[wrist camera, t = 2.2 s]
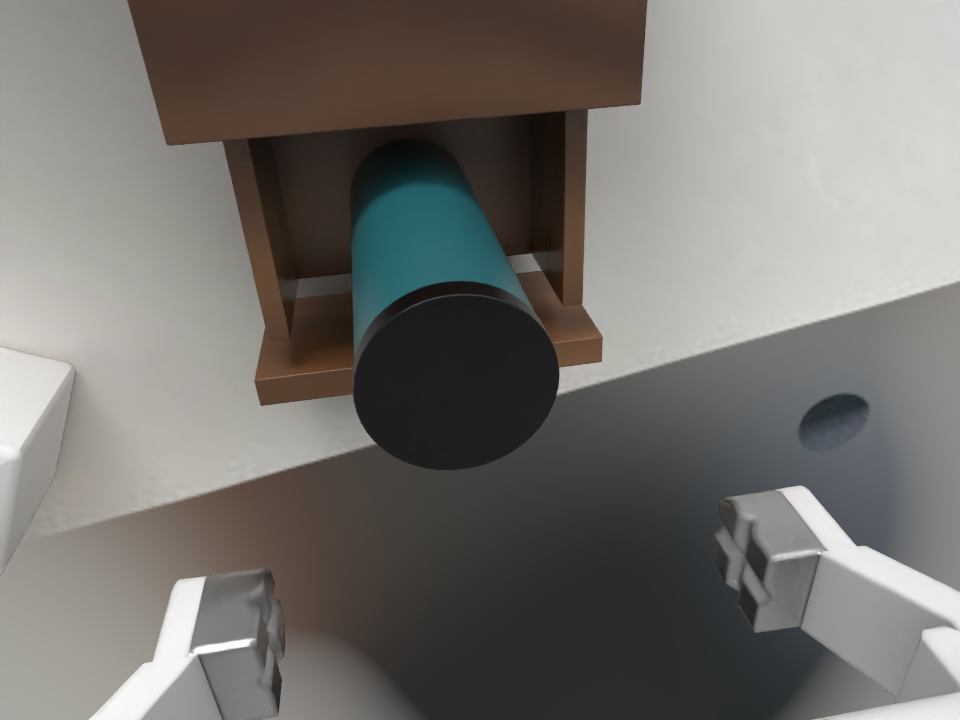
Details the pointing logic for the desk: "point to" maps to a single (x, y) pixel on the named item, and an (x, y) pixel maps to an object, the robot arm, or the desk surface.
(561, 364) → the drawer
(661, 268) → the desk surface
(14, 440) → the medicine bottle
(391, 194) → the tin
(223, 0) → the cabinet
